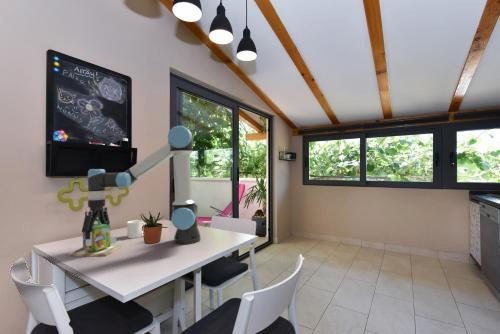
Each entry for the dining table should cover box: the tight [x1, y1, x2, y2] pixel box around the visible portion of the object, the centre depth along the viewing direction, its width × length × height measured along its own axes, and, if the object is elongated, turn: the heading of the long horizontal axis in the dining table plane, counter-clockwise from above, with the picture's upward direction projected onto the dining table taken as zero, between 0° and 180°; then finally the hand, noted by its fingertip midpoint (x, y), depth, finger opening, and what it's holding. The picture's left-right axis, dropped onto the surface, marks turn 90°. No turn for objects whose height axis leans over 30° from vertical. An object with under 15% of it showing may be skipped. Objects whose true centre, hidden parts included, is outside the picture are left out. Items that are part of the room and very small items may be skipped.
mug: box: [126, 219, 146, 239], centre depth 155 cm, size 12×9×9 cm
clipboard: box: [69, 245, 122, 257], centre depth 127 cm, size 18×13×1 cm
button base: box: [110, 235, 117, 245], centre depth 139 cm, size 10×10×3 cm
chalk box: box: [82, 218, 111, 252], centre depth 127 cm, size 9×9×15 cm
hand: (96, 242), depth 127 cm, fingers closed on chalk box, 11 cm apart
